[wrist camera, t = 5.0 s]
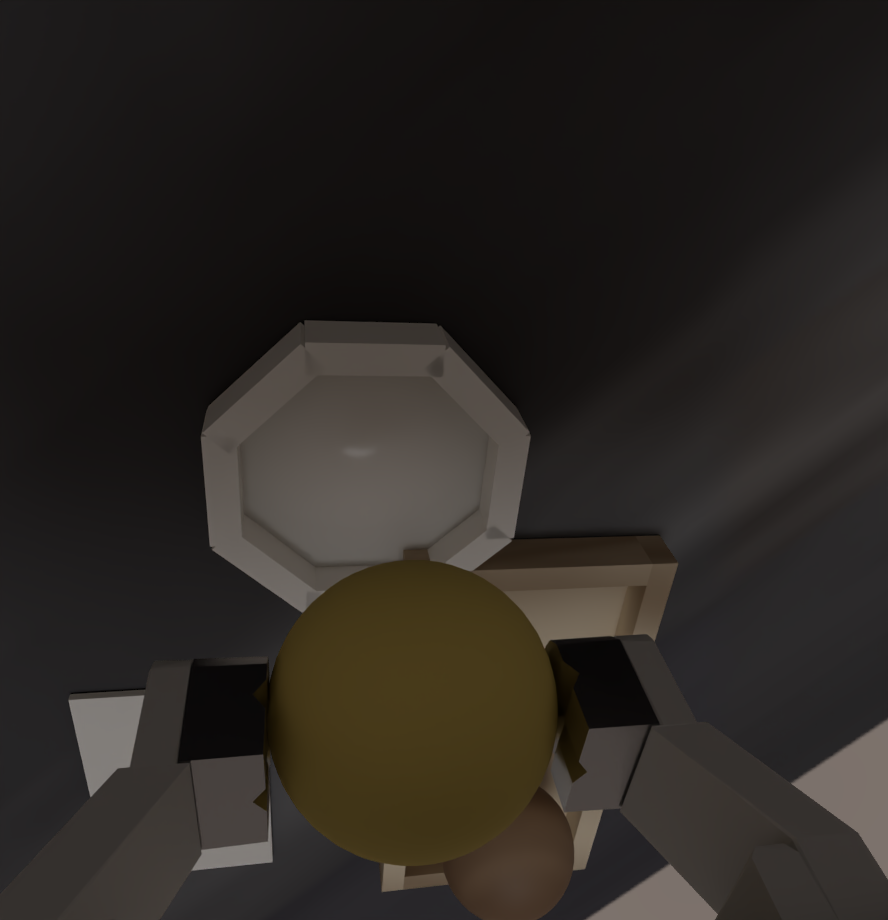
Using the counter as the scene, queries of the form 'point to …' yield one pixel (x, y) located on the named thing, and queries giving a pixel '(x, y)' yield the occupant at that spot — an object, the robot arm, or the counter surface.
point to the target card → (111, 746)
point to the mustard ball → (412, 712)
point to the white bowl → (360, 457)
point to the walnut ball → (517, 866)
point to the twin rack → (569, 627)
